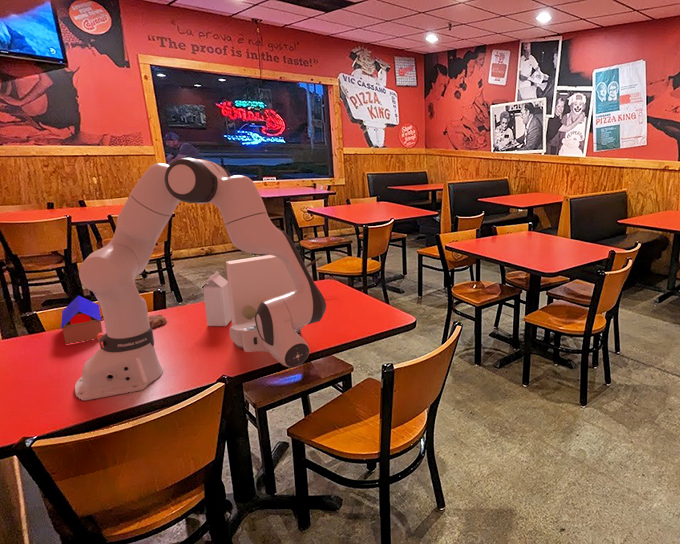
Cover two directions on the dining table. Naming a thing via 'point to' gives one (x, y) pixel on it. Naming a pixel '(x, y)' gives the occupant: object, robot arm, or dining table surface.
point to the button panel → (256, 284)
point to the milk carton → (217, 301)
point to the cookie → (156, 320)
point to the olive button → (249, 312)
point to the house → (81, 321)
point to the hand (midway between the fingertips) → (256, 319)
